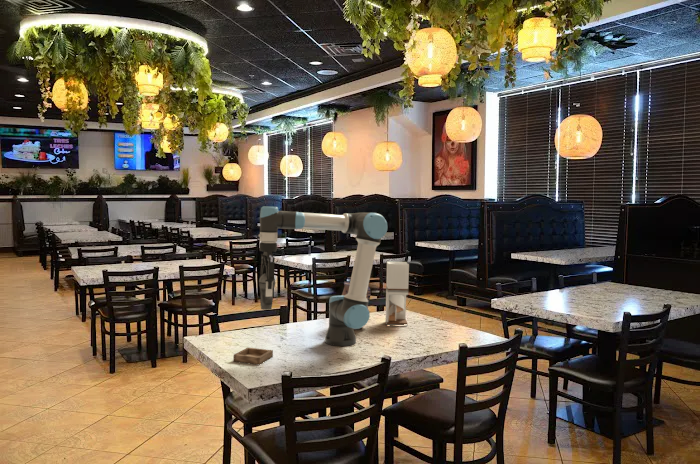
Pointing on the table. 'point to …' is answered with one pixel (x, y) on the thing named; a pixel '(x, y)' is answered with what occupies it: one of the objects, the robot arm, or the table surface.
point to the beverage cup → (265, 301)
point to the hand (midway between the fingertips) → (266, 294)
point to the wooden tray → (253, 356)
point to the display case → (396, 292)
